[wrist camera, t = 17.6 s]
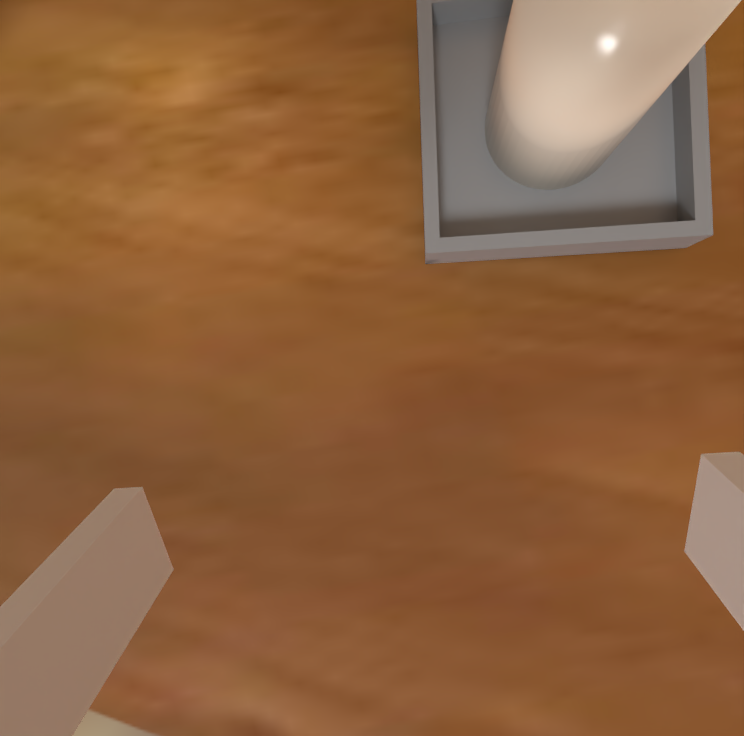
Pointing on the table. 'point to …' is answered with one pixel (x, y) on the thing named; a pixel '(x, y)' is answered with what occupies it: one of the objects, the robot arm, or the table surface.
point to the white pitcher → (585, 79)
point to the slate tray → (559, 206)
